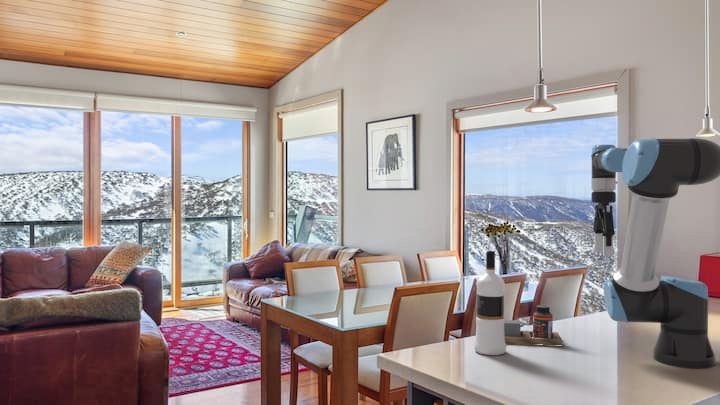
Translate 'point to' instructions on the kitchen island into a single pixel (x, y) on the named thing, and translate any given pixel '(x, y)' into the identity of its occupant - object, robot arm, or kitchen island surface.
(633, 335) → the kitchen island surface
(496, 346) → the vodka
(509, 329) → the block
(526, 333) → the brown wooden frame
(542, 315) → the supplement bottle
